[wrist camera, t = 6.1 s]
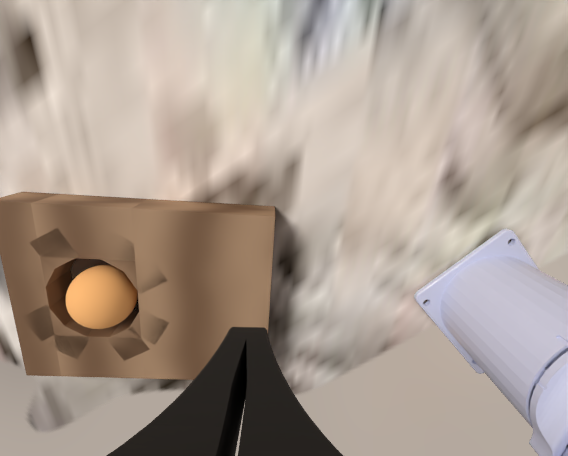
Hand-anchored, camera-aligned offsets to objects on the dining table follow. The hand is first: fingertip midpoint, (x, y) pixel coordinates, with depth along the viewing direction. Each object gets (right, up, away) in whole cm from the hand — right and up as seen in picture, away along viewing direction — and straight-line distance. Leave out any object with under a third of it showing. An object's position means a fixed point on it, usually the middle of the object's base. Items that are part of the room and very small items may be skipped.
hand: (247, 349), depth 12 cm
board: (-8, +1, +10) cm, 13 cm away
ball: (-10, 0, +8) cm, 13 cm away
